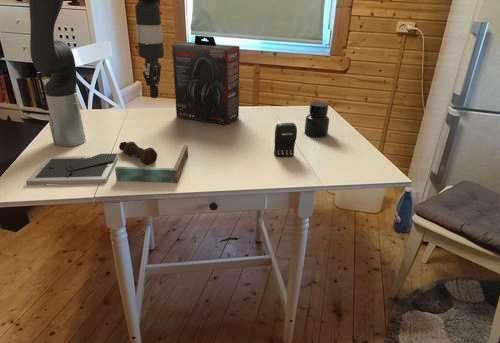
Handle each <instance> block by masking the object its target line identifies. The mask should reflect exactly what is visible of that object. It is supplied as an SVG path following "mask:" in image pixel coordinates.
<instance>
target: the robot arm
mask: <svg viewBox="0 0 500 343" xmlns="http://www.w3.org/2000/svg"><path fill="white" fill-rule="evenodd" d="M63 4H64V0H28V5H29V6H28V7H29V19H30V40H29V41H30V42H29V43H30V44H29V46H30V47H29V48H30V49H29V50H30V59H31V62H32V64H33V66H34V67H35V68H34V69H35V70H37V72H38V73H40V74H41V75H51V77H50V79H49V80H48V81H47V83H45V85H44V87H43V89H44V94H45V97H46V98H45V99H46V103H47V107H48V110H49V115H50V116H49V117H48V124H49V129H50V132H51V137H52V140H53V141H52V142H53V145H57V146H60V147H75V146H80V145H82V144H84V143H85V142H86V135H85V134H86V133H85V130H84V128H85V127H84V124H83V118H82V113H81V109H80V108H81V107H80V103H79V97H78V91H77V85H78V75H77V74H78V73H77V67H76V61H75V56H74V52H73V50H72V49H71V47H70V45H69V44H68V43H66V42H64V41H63V40H55V35H54V34H55V25H56V23H57V20H58V17H59V15H60V12H61V11H62V7H63ZM160 7H161V0H137V2H136V4H135V22H136V44H137V52H138V53H137V54H138V57H139V58H141V59H144V64H143V68H144V71H142V75H143V77H144V81H145V84H146V86H148V87H149V92H150V93H149V94H150V98H152V99H157V98H158V97H159V84H160V83H159V82H160V81H161V71H162V64H161V63H160V62H159V59H162V58H164V56H165V52H164V51H165V50H164V39H163V38H164V36H163V34H164V33H163V29H162V21H161V11H160V10H161V8H160Z"/></svg>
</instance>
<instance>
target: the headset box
mask: <svg viewBox="0 0 500 343" xmlns="http://www.w3.org/2000/svg"><path fill="white" fill-rule="evenodd" d="M204 39H205V40H204ZM171 48H172V50H171V51H172V63H173V78H174V79H173V81H174V94H175V97H174V98H175V112H176V113H175V114H176V117H177V118H181V119H190V120H196V121H202V122H208V123H213V124H218V125H219V124H220V125H226V126H227V125H228V124H230V123H233V121H235V120H237V119H238V118H239V117H240V116H239V115H240V114H239V113H240V108H239V107H240V106H239V105H240V51H241V50H240V45H229V44H228V45H227V44H217V43H216V40H215V37H214V36H206V35H197V34H195V36H194V42H191V41H184V42H183V41H182V42H178V43H173V44H172V45H171Z"/></svg>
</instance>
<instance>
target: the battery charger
mask: <svg viewBox="0 0 500 343" xmlns="http://www.w3.org/2000/svg"><path fill="white" fill-rule="evenodd" d="M297 137H298V128H297V125H296V123H294V122H292V121H291V122H290V121H289V122H287V121H281V122H277V123H276V124H275V128H274V145H273V146H274V150H273V154H274V156H275V157H277V158H291V157H292V158H293V157H294V155H295V145H296V140H297Z"/></svg>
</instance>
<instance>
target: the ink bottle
mask: <svg viewBox="0 0 500 343" xmlns="http://www.w3.org/2000/svg"><path fill="white" fill-rule="evenodd" d="M328 111H329V104H328V103H327V102H324V101H311V102H310V104H309V114H307V116H306V117H305V124H304V134H305V135H306V136H308V137H311V138H324V137H327V136H328V133H329V125H330V118H329V116H328Z"/></svg>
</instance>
